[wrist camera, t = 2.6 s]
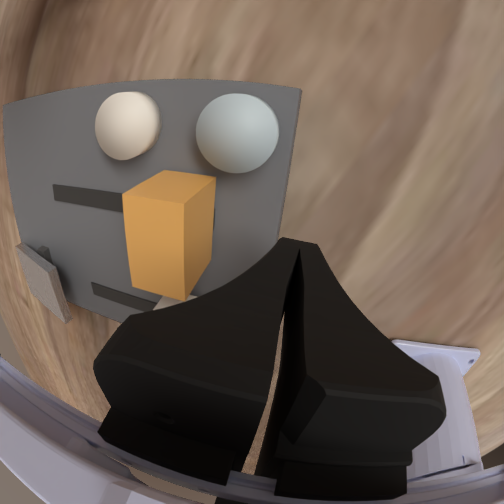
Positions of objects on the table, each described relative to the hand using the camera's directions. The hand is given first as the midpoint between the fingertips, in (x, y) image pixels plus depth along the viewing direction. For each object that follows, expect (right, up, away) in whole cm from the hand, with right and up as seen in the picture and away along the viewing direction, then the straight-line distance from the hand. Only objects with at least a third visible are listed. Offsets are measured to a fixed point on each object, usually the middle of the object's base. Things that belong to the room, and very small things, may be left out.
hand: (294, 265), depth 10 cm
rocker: (-17, -2, +6) cm, 18 cm away
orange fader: (-4, +2, +3) cm, 5 cm away
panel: (-10, +3, +5) cm, 11 cm away
